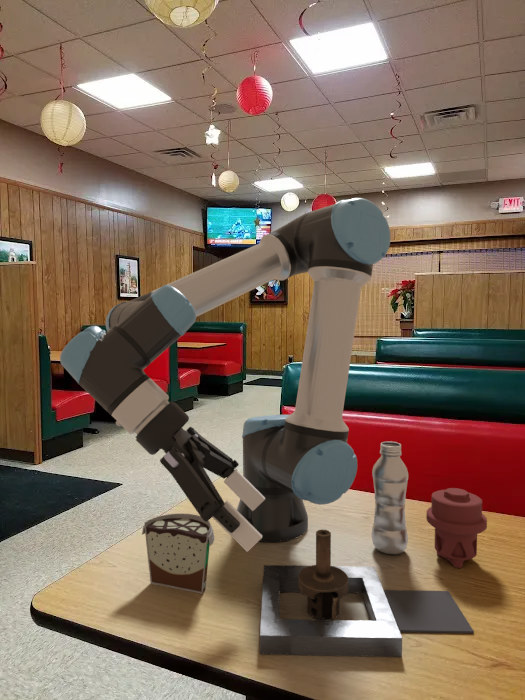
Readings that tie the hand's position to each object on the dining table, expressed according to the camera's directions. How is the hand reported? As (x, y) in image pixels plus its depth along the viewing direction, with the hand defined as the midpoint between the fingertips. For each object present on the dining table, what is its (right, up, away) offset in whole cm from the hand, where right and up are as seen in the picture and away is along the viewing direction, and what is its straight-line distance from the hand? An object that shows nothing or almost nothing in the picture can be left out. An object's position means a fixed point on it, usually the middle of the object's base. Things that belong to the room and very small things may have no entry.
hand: (257, 522), depth 71 cm
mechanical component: (+35, -13, +17) cm, 41 cm away
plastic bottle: (+24, -13, +20) cm, 34 cm away
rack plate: (+10, -14, +1) cm, 17 cm away
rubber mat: (+25, -14, +1) cm, 28 cm away
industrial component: (+10, -14, +1) cm, 17 cm away
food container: (-12, -13, +11) cm, 21 cm away
